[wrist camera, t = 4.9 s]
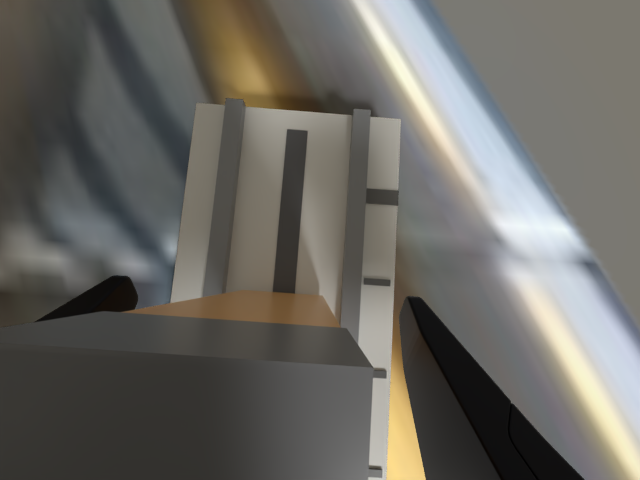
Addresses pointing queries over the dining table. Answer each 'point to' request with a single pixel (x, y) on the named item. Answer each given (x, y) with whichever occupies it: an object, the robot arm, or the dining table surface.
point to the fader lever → (187, 393)
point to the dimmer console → (298, 221)
